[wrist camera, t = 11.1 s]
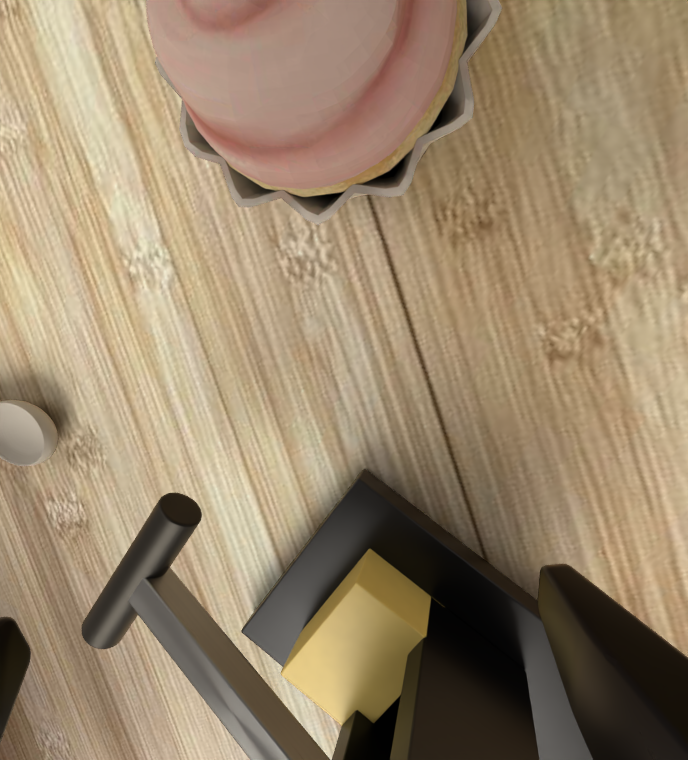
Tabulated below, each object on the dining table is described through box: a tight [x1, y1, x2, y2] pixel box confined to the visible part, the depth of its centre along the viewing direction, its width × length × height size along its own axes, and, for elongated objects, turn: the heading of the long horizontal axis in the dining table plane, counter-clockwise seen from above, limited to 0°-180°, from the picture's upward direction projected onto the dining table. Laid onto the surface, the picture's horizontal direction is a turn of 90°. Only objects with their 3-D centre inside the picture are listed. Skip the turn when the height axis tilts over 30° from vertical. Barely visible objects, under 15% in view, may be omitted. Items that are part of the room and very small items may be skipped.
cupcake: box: [146, 0, 502, 225], centre depth 13 cm, size 9×9×10 cm
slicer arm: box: [82, 493, 330, 760], centre depth 13 cm, size 13×6×2 cm, turn 55°
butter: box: [281, 549, 444, 725], centre depth 18 cm, size 5×4×2 cm
